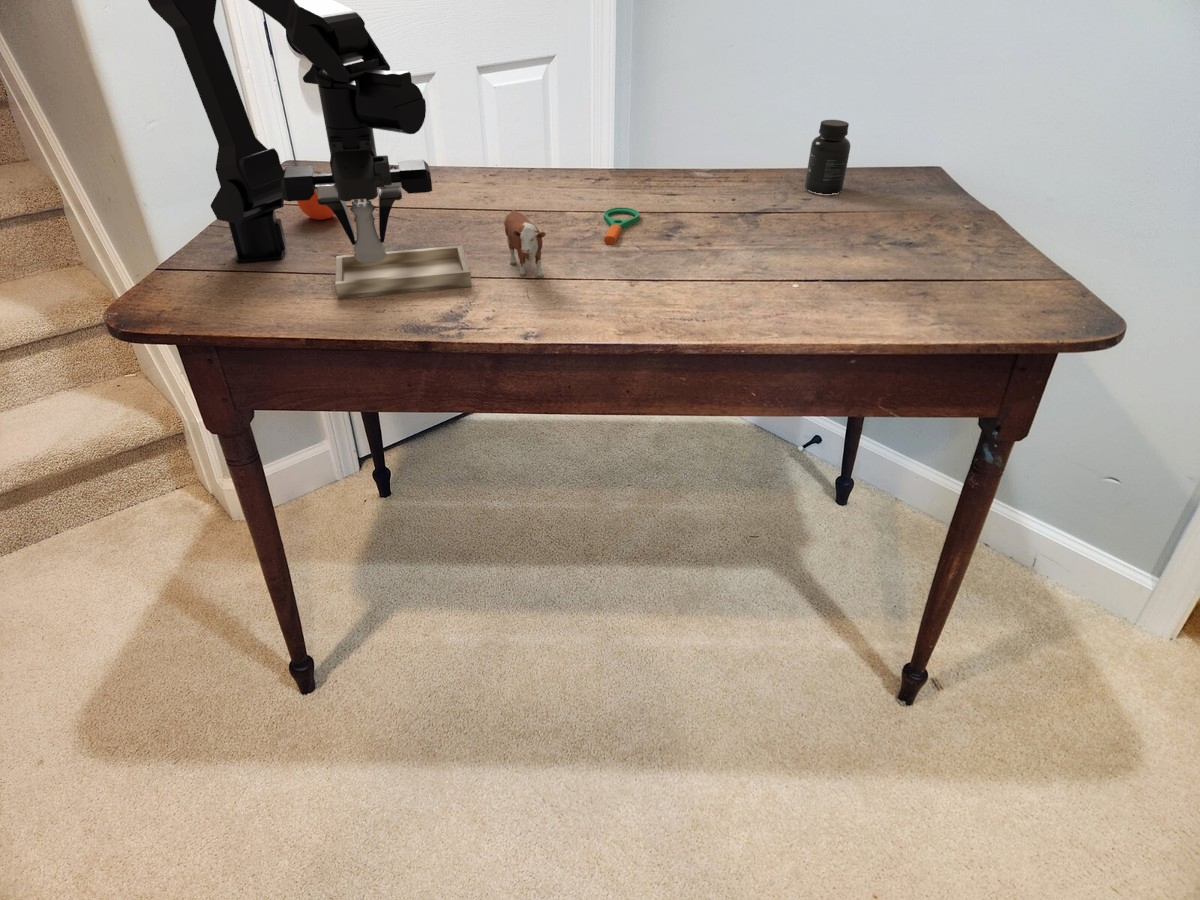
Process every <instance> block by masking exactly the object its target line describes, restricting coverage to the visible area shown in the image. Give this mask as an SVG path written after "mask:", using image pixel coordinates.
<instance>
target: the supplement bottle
mask: <svg viewBox="0 0 1200 900" xmlns="http://www.w3.org/2000/svg"><path fill="white" fill-rule="evenodd" d="M849 125H850V124H849V123H848V122H847V121H843V120H841V119H824V120H822V121H820V126H819V130H818V134H819V135H818V136H817V137H814V139H813V140H812V141H811V146H810V150H809V151H810V152H809V158H808V163H807V168H806V169H807V170H806V176H805V183H804V189H805V188H806V189H807V190H810V191H812V192H816V193H822V194H832V193H838V192H840V191H841V192H842V191H843V187H844V182H845V179H846V178H845V177H846V172H847V167H848V162H849V157H850V151H851V143H850V140H849V139H848V138H847V136H848V133H849V132H848V130H849ZM806 189H805V190H806Z"/></svg>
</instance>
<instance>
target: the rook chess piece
mask: <svg viewBox="0 0 1200 900" xmlns="http://www.w3.org/2000/svg"><path fill="white" fill-rule="evenodd" d="M358 200H360V201H358ZM375 209H376V207H375V205H374V204H373V203H372V200H366V199H355V200H351V206H350V208H349V210H350V211H351V212H352V214H354V218H353V222H354V223H355V227H356V239H355V245H353V251H352V252H353V253H354V254H353V255H354V258H355V259H356V260H357V261H358V262H361V263H366V264H369V263H377V262H380V261H382V260H383V259H384V258H385V257H386V252H387V251H385V249H386V245H385V244H384V243H381V240H380V236H379V234H378V232H377V229H376V224H375V220H376V218H375V217H374V215H373V212H374V211H375Z"/></svg>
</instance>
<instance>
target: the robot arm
mask: <svg viewBox="0 0 1200 900" xmlns="http://www.w3.org/2000/svg"><path fill="white" fill-rule="evenodd" d="M147 1H148V4H149V5H150V7H151V9H152V10H153V11H154V12H155V13H156V14H157V15H158V16H159V17H160V18H161V20H163V21H164V22H165V23H166V24H167V25H169V26H170V28H171V29H172V30H173V32H174V34H175V38H176V39H177V42H178V44H179V47H180V49H181V52H182V54H183V57H184V60H185V62H186V65H187V67H188V70H189V73H190V76H191V78H192V80H193V82H194V86H195V88H196V90H197V94H198V96H199V98H200V101H201V103H202V107H203V109H204V111H205V113H206V117H207V119H208V122H209V124H210V127H211V130H212V132H213V134H214V137H215V139H216V142H217V145H218V149H217V155H216V162H215V171H216V176H217V179H218V182H219V189H218V191H217V193H216V195H215V197H214V198H213V200H212V201H211V203H210V208H211V210H212V212H213V214H214V215H215V218H216V219H217V220H218V221H222V222H226V223H228V226H229V230H230V233H231V237H232V241H233V245H234V248H235V251H236V252H235V253H236V255H235V263H248V262H249V263H250V262H261V261H272V260H273V261H274V260H275V261H276V260H281V259H283V256H284V251H286V249H287V239H286V237H285V231H284V228H283V222H282V219H280V218H277V216H276V211H275V210H278V209H282V208H284V206H285V205H284V202H285V201H286V202H297V201H303V200H310V199H311V197H312V196H313V195H314V193H315V192H314V190H316V193H317V194H318V200H317V201H318V204H319V205H327V206H328V207H329V208H330V209H331V210H332V211H333V213H334V215H335V216H336V217H335V218H337V219H338V221H339V223H340V225H341V226H342V229H343V230H344V231H345V233H346V236H347V237H348V239H349V241H350V243H351V244H352V246H354V245H355V244H356V243H355V241H356V236H355V231H354V228H353V223H352V221H351V216H350V213H349V209H348V206H347V202H352V201H354V200H355V199H358V200H360V199H364V200H365V201H366V200H371V201H373V200H375V199H376V198H378V229H379V230H378V233H379V238H380V240H381V243H383V244H384V243H385V237H386V233H387V229H388V228H387V227H388V226H387V225H388V221H389V218H390V217H389V216H390V213H391V209H392V208H393V205H394V203H395V201H400V200H402V199H403V195H402V194H403V193H402V189H403V191H405V192H406V193H408V194H422V193H423V194H424V193H431V192H432V191H433V184H432V175H431V170H430V167H429V164H428V162H426V160H424V159H413V160H412V159H410V160H398V161H397V164H398V168H397V169H391V168H390V162H389V155H388V154H387V155H378V154H377V148H376V147H377V146H376V141H375V134H374V129H375V130H381V131H385V132H387V131H388V132H392V133H393V132H394V133H399V134H406V135H415V134H416V133H418V132H419V131H420V130H421V129H422V128H423V124H424V123H425V119H426V113H427V104H426V99H425V98H424V96H423V93H422V91H421V89H420V87H418V85H416V84H415V83H414V82H412V73H411V72H410V71H407V70H406V71H405V70H400V71H399V70H398V71H392V70H391V66H390V65H389V63H388V61H387V60H386V58H385V56H384V55H383V54H382V52H381V50H380V49H379V47H378V46H377V44H376V42H375V41H374V39H373V38H372V37H371V35H370V33H369V32H368V30H367V28H366V27H365V26H366V23H365V21H364V19H363V18H362V16H361V15H360V14H359V13H358V12H357V11H355V10H353V9H351V8H349V7H348V6H345V5H343V4H341V3H340V2H337V1H335V0H248V1H249V2H250V3H251V4H253V5H254V6H255V7H257V9H258V8H259V10H261V11H262V12H263V13H265V14H266V15H268V16H269V17H271V18H272V19H273V20H275V21H276V22H277V23H279V24H280V26H282V28H284V30H286V32H287V35H288V38H289V40H290V42H291V44H292V46H294V48H295V49H297V50H298V51H299V52H300V53H301V54H302V55H303V56H304V57H305V58H306V59H307V61H309V62H310V63H311V67H310V69H309V70H307V72H306V73H305V74H304V76H302V81H303V82H304V83H305V84H312V85H317V86H318V87H317V88H318V93H319V98H320V104H321V110H322V115H323V120H324V126H325V131H326V137H327V143H328V148H329V153H330V154H329V155H330V159H329V166H330V170H331V173H329V172H327V173H325V172H324V173H315V168H314V166H313V165H308V166H307V165H305V166H304V165H302V166H289V167H285V168H284V169H283V167H282V164H281V161H280V157H279V153H278V151H277V150H276V149H275V148H274V147H271V148H269V149H268V148H267V147H266V146H265V145H264V144H263V143H262V142H261V141H260V140H259V139H258V138H257V137H256V135H255V132H254V130H253V127H252V123H251V122H250V118H249V116H248V113H247V110H246V108H245V105H244V102H243V100H242V97H241V94H240V91H239V88H238V86H237V84H236V81H235V77H234V75H233V71H232V70H231V66H230V64H229V61H228V59H227V56H226V53H225V51H224V48H223V45H222V42H221V39H220V36H219V33H218V32H217V29H216V26H215V15H216V8H217V7H216V6H217V1H218V0H147ZM361 60H362V61H361ZM345 64H346V65H345Z"/></svg>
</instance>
